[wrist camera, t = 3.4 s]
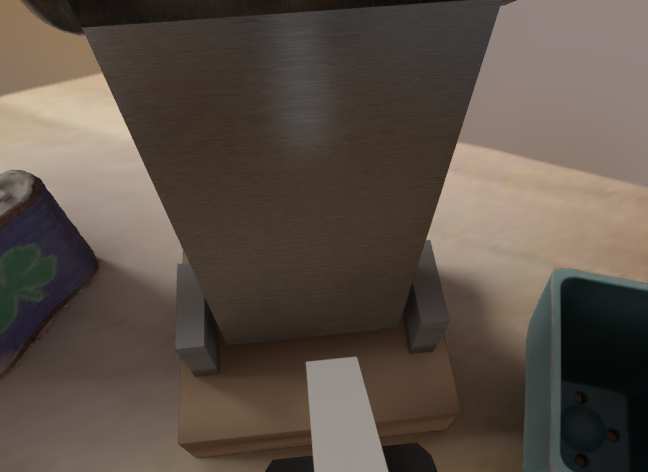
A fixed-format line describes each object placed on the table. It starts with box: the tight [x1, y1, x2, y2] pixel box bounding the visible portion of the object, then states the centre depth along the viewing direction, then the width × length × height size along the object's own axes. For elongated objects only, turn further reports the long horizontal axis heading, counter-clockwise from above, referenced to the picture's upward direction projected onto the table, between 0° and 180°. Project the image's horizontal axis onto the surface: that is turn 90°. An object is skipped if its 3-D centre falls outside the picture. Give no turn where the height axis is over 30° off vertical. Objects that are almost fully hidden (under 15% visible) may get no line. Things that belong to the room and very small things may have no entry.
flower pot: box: [522, 268, 648, 472], centre depth 25 cm, size 9×9×9 cm
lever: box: [20, 0, 516, 345], centre depth 19 cm, size 3×11×21 cm, turn 96°
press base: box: [175, 240, 461, 458], centre depth 28 cm, size 10×13×8 cm
